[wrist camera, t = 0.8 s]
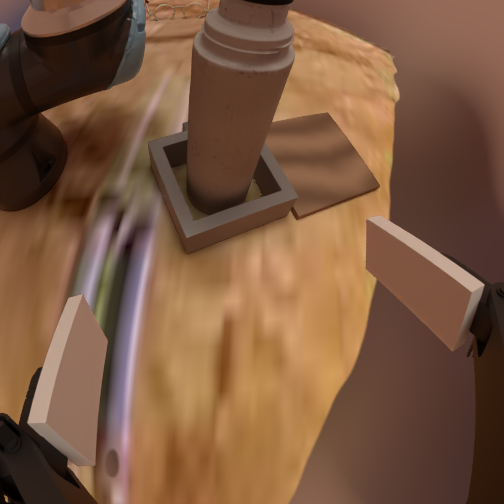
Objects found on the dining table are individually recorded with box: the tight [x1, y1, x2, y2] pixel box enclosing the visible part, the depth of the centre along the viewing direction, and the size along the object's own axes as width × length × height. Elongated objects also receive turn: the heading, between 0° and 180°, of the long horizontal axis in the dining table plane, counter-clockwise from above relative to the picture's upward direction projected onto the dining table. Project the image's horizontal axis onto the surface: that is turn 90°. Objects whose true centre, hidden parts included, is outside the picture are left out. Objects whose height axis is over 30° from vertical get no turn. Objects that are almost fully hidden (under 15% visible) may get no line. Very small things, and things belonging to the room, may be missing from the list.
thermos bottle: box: [187, 0, 295, 215], centre depth 27 cm, size 8×8×28 cm
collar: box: [148, 122, 298, 254], centre depth 38 cm, size 16×14×5 cm
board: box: [265, 113, 380, 220], centre depth 44 cm, size 16×16×1 cm
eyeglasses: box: [145, 0, 209, 21], centre depth 55 cm, size 17×15×5 cm
